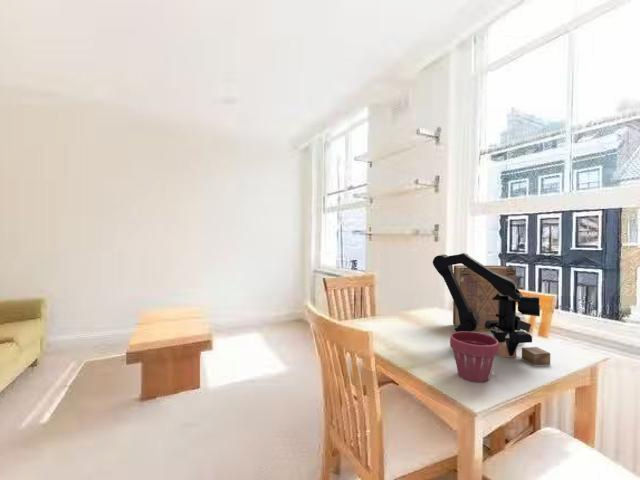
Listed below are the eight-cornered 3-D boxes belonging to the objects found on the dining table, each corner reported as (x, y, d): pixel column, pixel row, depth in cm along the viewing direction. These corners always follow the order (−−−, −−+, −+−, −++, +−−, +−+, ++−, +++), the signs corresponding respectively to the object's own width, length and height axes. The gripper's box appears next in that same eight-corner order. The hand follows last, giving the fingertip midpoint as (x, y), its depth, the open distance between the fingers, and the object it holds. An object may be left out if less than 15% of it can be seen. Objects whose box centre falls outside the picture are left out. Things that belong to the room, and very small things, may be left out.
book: (459, 330, 152) (459, 267, 151) (452, 324, 161) (453, 265, 160) (515, 331, 149) (516, 267, 148) (505, 325, 158) (506, 265, 157)
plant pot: (506, 378, 103) (507, 339, 102) (484, 391, 95) (484, 348, 94) (464, 363, 115) (464, 328, 114) (441, 374, 106) (441, 336, 106)
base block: (534, 365, 111) (534, 354, 111) (521, 358, 117) (521, 347, 117) (550, 364, 112) (550, 353, 112) (536, 357, 118) (536, 346, 118)
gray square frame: (533, 368, 110) (533, 366, 110) (517, 358, 118) (517, 357, 118) (555, 366, 111) (555, 365, 111) (537, 357, 119) (537, 356, 119)
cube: (505, 358, 118) (505, 346, 118) (497, 353, 123) (497, 342, 123) (516, 358, 119) (516, 346, 119) (508, 353, 123) (508, 341, 123)
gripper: (546, 318, 112) (546, 362, 112) (509, 305, 131) (509, 343, 131) (517, 319, 111) (516, 364, 111) (484, 306, 129) (483, 344, 130)
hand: (506, 353), depth 121 cm, fingers closed on cube, 4 cm apart
